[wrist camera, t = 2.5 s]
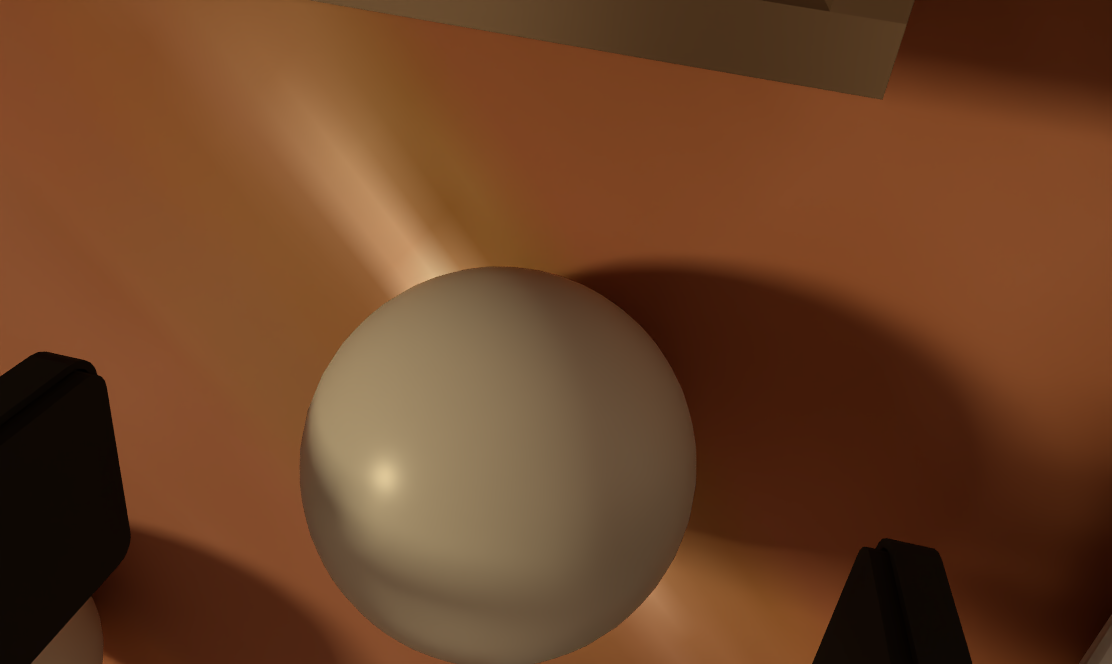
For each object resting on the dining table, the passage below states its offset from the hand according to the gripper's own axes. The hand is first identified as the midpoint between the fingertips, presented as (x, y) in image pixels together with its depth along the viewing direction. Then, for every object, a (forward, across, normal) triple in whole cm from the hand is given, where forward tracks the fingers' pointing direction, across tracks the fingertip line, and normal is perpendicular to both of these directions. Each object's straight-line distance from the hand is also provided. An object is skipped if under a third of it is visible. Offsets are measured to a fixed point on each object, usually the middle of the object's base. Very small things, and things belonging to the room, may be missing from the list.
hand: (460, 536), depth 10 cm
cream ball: (+4, 0, 0) cm, 4 cm away
